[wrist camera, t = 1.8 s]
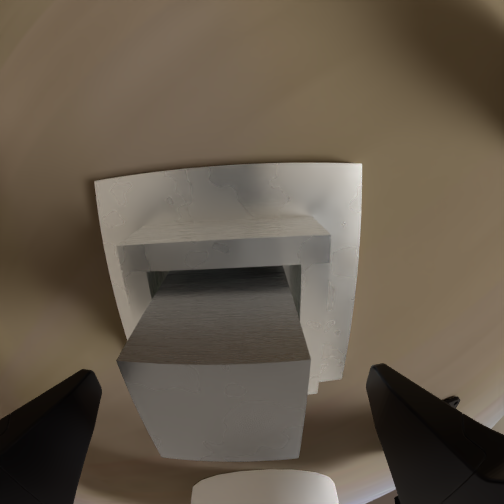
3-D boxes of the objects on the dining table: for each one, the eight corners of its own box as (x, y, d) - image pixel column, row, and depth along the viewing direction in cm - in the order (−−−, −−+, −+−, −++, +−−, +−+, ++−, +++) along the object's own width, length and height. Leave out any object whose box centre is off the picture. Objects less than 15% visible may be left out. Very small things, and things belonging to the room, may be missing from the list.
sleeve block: (337, 368, 16) (355, 415, 12) (146, 374, 16) (129, 420, 12) (353, 162, 12) (393, 167, 9) (103, 179, 12) (57, 190, 9)
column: (280, 338, 14) (300, 458, 7) (190, 340, 14) (161, 457, 7) (280, 252, 12) (313, 357, 6) (176, 257, 12) (113, 359, 6)
